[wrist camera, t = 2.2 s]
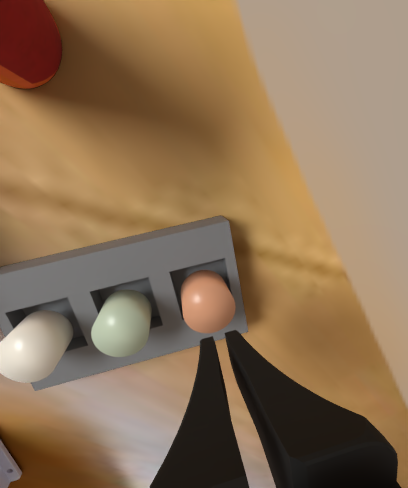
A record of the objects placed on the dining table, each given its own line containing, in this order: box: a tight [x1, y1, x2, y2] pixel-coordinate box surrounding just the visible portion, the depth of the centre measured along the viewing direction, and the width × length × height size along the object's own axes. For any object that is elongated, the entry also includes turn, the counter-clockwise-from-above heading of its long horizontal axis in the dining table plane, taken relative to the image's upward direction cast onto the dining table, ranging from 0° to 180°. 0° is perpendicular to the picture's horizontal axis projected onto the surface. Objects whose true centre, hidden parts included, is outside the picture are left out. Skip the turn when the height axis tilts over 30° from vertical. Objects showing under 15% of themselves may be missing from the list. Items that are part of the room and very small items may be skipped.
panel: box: [0, 216, 248, 391], centre depth 19 cm, size 10×18×3 cm, turn 102°
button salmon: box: [181, 270, 236, 333], centre depth 17 cm, size 4×4×3 cm
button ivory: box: [0, 310, 73, 383], centre depth 16 cm, size 4×4×3 cm
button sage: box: [91, 289, 152, 357], centre depth 17 cm, size 4×4×3 cm
